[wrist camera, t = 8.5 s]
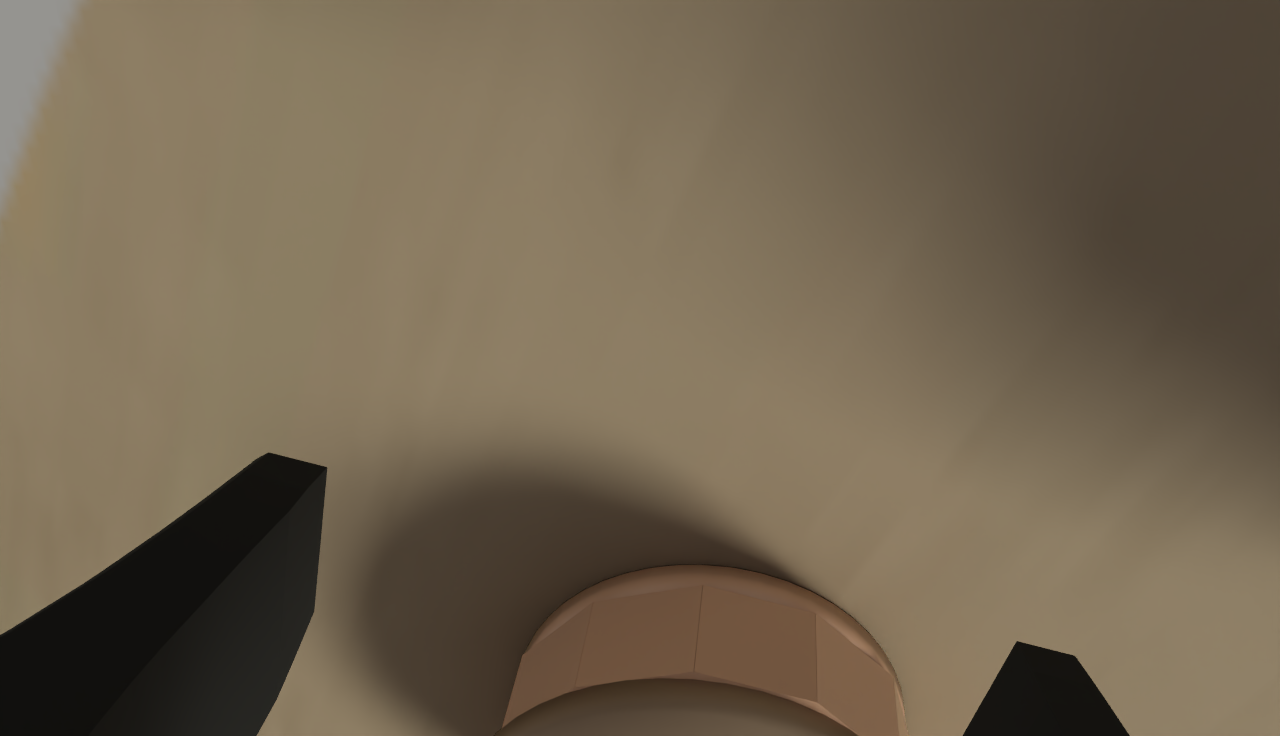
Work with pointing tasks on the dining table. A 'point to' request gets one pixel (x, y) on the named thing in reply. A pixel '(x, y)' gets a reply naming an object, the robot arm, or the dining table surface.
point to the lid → (671, 712)
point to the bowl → (714, 644)
